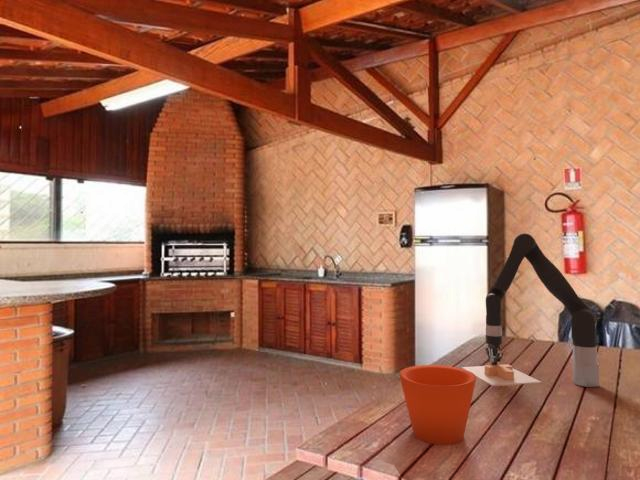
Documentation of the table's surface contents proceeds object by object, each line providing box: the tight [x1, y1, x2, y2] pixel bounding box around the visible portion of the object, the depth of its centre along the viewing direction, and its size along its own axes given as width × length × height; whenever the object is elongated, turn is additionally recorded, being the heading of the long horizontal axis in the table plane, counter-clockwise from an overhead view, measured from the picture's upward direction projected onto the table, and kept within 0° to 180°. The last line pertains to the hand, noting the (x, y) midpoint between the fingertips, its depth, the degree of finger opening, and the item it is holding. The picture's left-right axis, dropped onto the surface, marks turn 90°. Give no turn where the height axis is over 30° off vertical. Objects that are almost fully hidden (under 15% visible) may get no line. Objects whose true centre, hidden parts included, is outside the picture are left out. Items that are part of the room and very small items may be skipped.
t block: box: [484, 363, 514, 381], centre depth 213 cm, size 12×12×4 cm
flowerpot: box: [398, 364, 477, 446], centre depth 151 cm, size 25×25×20 cm
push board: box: [461, 365, 542, 387], centre depth 217 cm, size 30×24×1 cm
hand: (494, 369), depth 221 cm, fingers closed
